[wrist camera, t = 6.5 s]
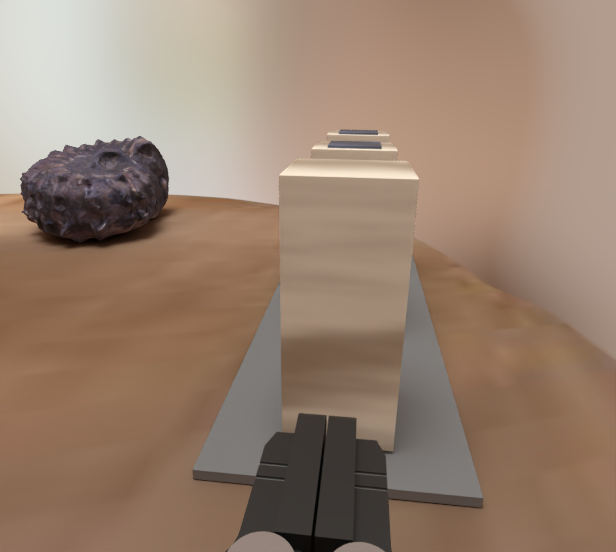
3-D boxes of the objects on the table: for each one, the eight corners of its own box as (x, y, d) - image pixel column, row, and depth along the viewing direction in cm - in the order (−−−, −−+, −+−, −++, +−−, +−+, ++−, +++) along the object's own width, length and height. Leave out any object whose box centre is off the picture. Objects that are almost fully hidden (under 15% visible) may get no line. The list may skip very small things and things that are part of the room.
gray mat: (481, 507, 19) (483, 498, 19) (193, 478, 20) (192, 469, 20) (411, 258, 47) (412, 254, 47) (295, 253, 49) (295, 248, 49)
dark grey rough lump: (176, 218, 69) (83, 163, 67) (206, 149, 61) (102, 84, 59) (99, 302, 54) (-24, 233, 52) (126, 223, 46) (-18, 139, 44)
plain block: (392, 451, 21) (419, 179, 16) (282, 441, 21) (278, 175, 17) (388, 386, 25) (407, 161, 21) (297, 379, 26) (297, 158, 22)
